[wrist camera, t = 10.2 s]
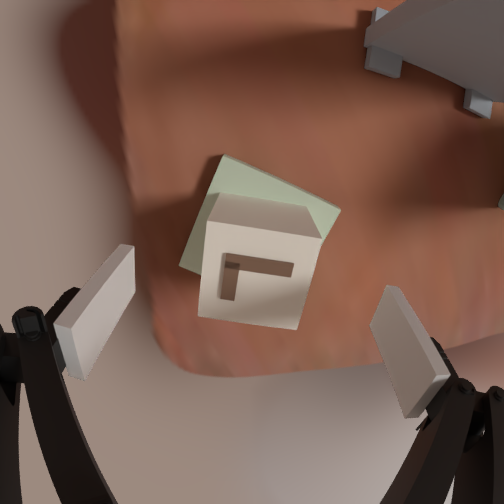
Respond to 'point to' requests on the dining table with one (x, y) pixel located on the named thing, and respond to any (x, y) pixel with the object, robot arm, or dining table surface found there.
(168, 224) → the dining table surface
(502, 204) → the planter
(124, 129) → the dining table surface
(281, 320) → the letter cube
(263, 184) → the pad
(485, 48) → the board
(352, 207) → the dining table surface
